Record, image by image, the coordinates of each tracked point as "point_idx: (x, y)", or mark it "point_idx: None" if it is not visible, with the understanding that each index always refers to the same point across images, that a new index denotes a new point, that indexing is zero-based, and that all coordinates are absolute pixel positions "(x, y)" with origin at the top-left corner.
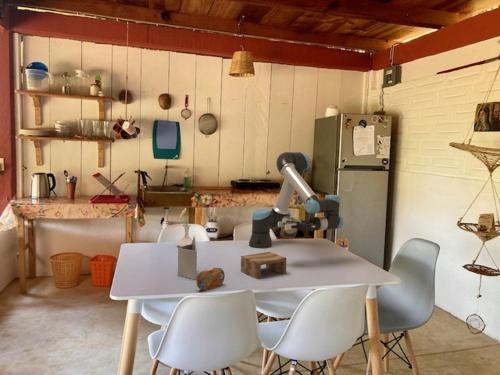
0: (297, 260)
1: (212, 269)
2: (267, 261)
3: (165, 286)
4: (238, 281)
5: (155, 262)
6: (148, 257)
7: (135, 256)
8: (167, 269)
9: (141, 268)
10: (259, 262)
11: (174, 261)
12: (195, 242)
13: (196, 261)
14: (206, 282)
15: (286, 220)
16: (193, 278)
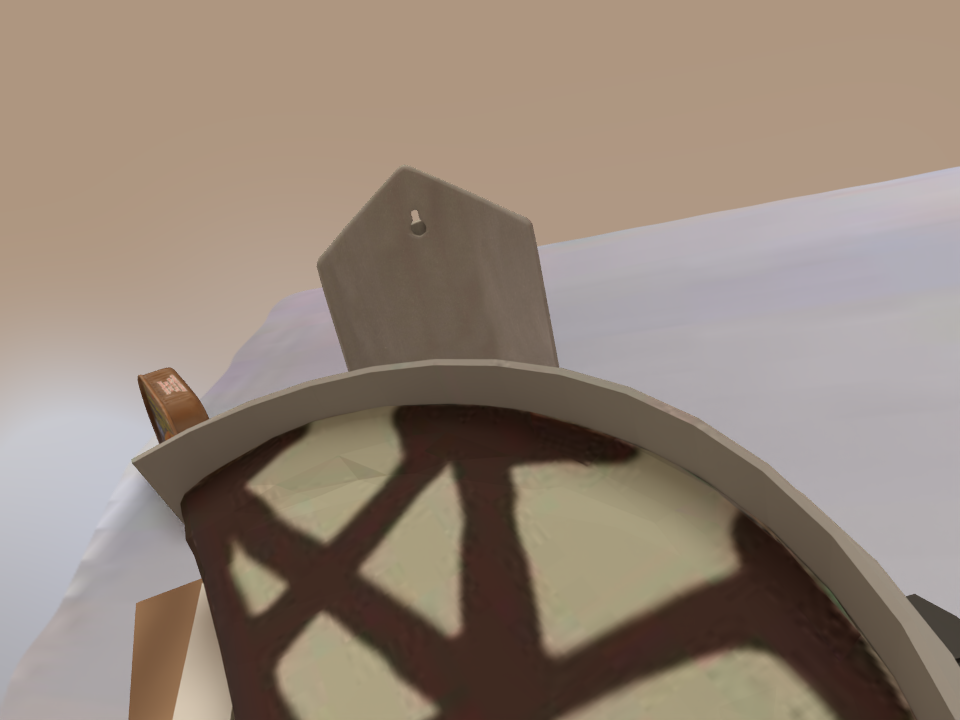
0: None
1: (160, 392)
2: (132, 698)
3: (312, 358)
4: None
5: (712, 272)
6: (814, 239)
7: (822, 213)
8: (575, 320)
9: (600, 266)
10: (136, 618)
11: (746, 311)
12: (359, 211)
13: (335, 324)
14: (164, 433)
15: (156, 481)
16: None
